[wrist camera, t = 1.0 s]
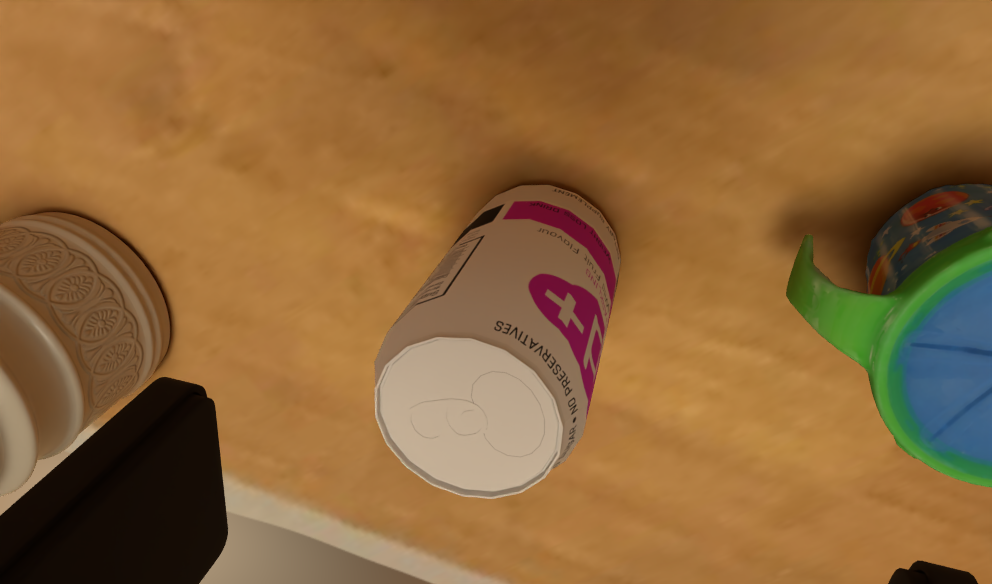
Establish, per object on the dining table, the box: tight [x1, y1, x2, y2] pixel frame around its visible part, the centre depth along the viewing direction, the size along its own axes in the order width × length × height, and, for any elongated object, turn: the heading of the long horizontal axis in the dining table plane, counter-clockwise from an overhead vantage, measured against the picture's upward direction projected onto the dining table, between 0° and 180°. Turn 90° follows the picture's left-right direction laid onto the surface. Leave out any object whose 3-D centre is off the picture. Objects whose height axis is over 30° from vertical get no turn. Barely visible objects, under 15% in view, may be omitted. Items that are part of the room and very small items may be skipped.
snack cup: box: [786, 184, 992, 487], centre depth 30 cm, size 16×10×10 cm
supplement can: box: [375, 185, 621, 499], centre depth 33 cm, size 8×8×15 cm
